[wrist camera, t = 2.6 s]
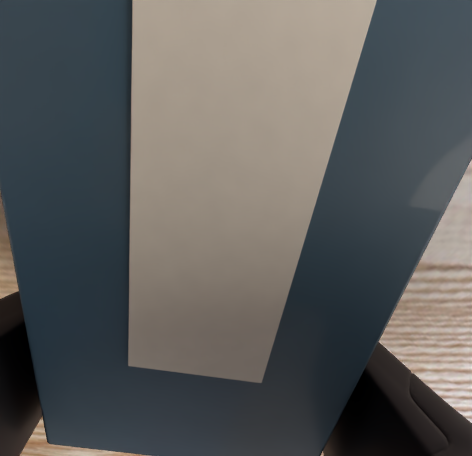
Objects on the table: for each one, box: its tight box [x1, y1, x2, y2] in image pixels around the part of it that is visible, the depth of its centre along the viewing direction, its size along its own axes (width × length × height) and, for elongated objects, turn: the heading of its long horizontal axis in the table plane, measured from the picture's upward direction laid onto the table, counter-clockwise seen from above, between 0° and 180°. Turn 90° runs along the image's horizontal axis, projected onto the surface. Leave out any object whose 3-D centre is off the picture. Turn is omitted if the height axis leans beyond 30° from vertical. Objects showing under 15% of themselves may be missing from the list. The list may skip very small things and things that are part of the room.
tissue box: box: [0, 0, 472, 456], centre depth 6 cm, size 12×6×5 cm, turn 171°
